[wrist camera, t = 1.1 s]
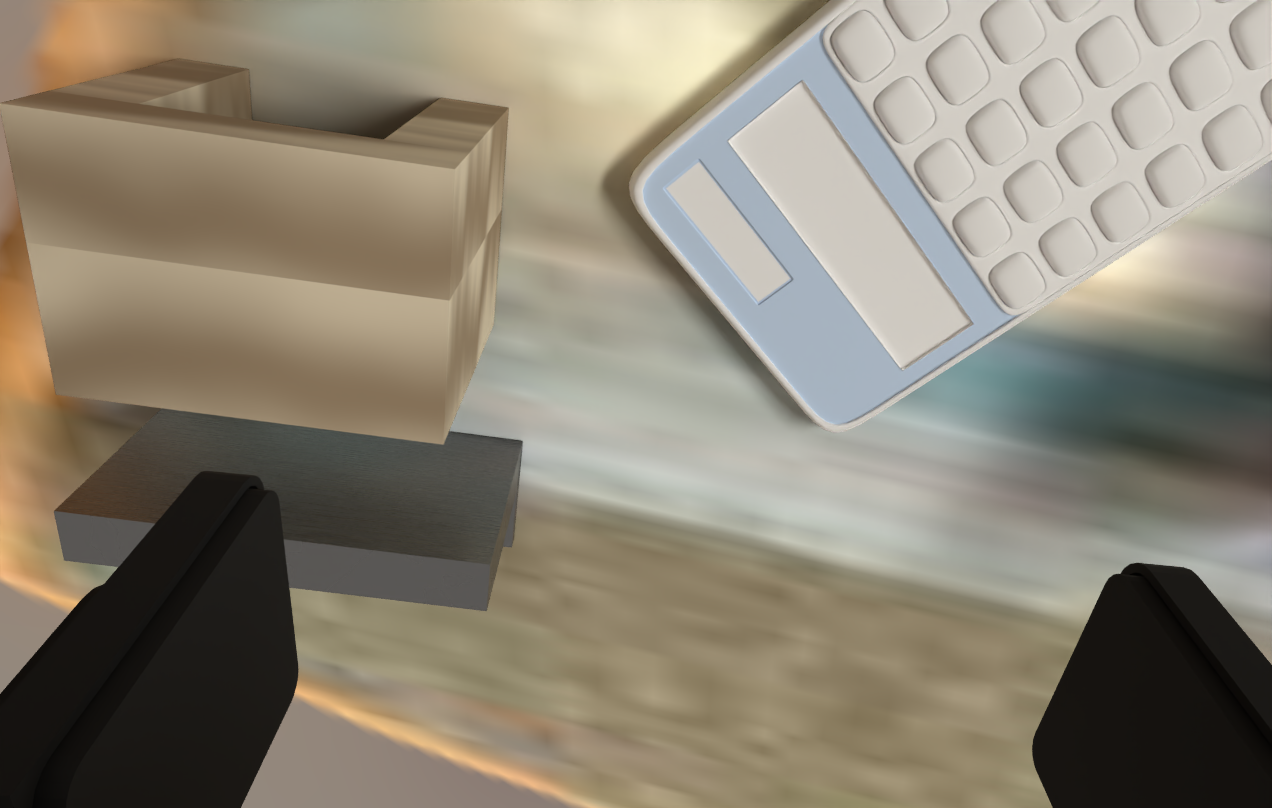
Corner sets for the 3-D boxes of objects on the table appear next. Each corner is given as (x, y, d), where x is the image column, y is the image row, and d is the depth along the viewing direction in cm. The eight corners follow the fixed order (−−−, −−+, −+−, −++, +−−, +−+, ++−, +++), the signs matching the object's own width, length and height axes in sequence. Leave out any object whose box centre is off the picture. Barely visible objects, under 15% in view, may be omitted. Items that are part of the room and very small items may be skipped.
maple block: (178, 58, 29) (-1, 103, 21) (508, 107, 30) (454, 169, 22) (201, 284, 33) (56, 394, 25) (493, 324, 33) (443, 444, 25)
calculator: (1319, 104, 30) (1359, 115, 28) (824, 428, 36) (833, 452, 34) (1149, -273, 25) (1186, -288, 23) (614, 176, 31) (612, 189, 29)
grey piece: (175, 395, 35) (53, 511, 28) (522, 441, 36) (490, 564, 29) (187, 498, 37) (78, 628, 30) (513, 539, 38) (481, 675, 31)
